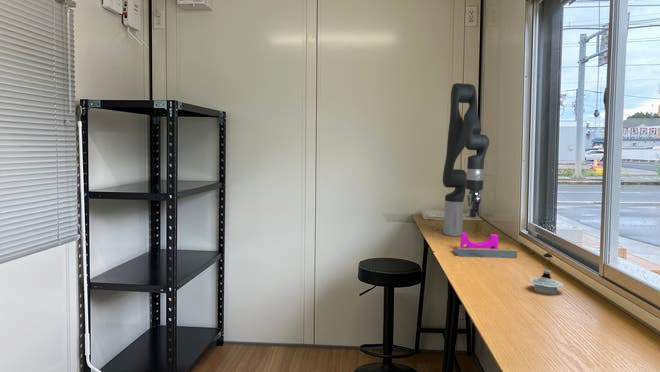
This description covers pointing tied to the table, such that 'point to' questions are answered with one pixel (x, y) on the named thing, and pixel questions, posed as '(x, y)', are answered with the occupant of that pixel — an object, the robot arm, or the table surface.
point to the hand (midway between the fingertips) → (472, 217)
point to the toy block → (489, 244)
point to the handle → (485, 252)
